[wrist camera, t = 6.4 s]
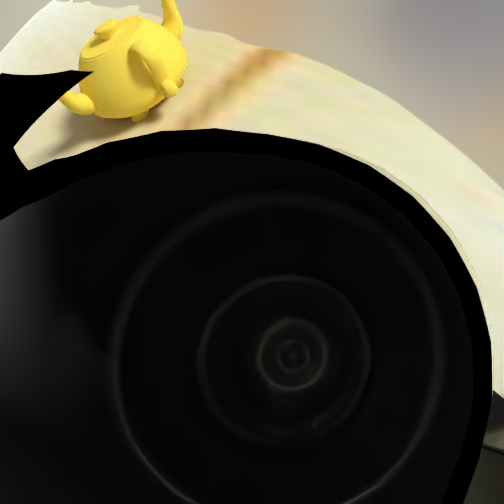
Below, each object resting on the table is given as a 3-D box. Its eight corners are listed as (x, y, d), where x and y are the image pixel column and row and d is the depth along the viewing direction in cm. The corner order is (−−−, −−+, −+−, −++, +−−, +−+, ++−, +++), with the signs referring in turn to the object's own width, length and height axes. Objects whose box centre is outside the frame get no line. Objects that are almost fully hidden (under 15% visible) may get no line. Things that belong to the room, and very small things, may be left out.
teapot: (120, 182, 29) (52, 113, 18) (67, 133, 33) (18, 81, 22) (248, 63, 31) (229, -18, 20) (172, 40, 36) (146, -20, 25)
